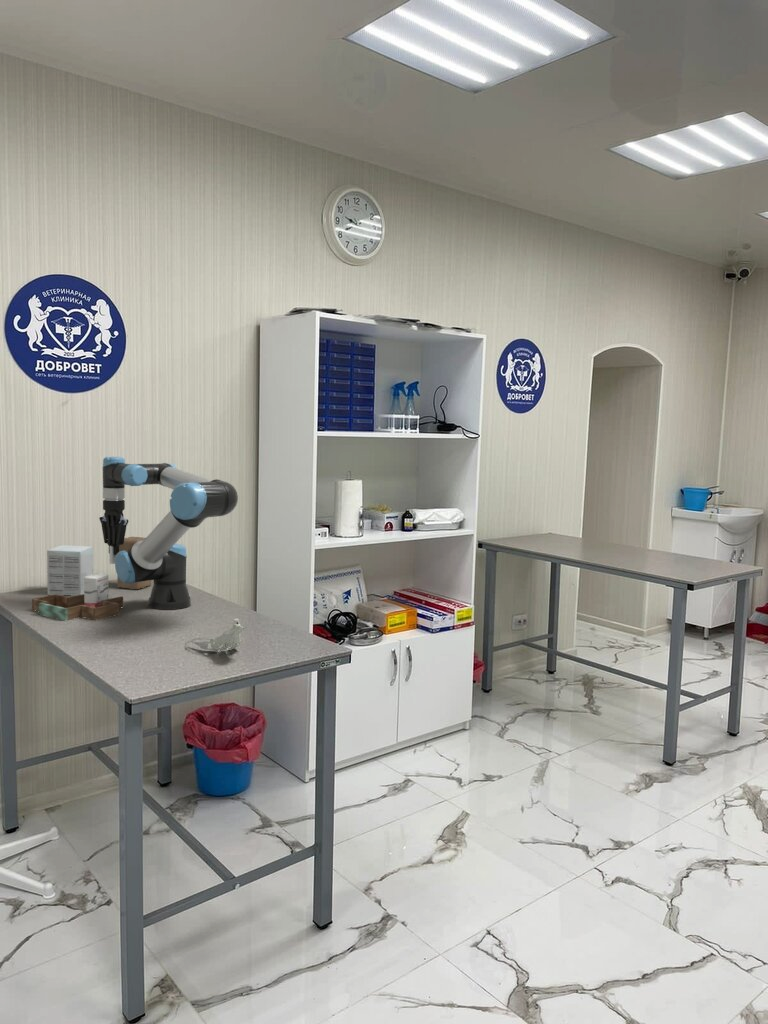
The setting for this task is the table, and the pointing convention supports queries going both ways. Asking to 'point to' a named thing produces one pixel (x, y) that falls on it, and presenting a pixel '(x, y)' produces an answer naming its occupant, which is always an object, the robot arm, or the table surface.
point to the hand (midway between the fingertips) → (113, 563)
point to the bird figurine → (223, 639)
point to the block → (126, 546)
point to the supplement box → (68, 569)
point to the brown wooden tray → (75, 607)
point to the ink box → (95, 589)
